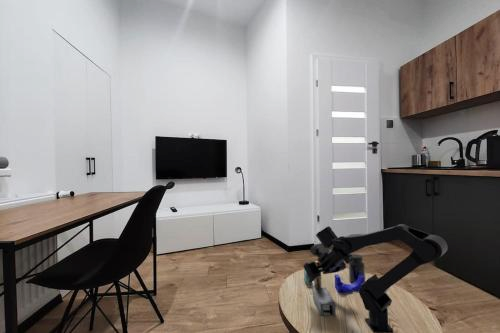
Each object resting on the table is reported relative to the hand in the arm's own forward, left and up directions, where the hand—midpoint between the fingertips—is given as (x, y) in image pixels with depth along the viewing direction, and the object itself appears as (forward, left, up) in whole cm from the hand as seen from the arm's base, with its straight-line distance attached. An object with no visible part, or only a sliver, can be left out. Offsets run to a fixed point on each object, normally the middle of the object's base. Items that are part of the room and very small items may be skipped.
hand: (315, 275), depth 104 cm
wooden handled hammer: (-5, -1, -7) cm, 8 cm away
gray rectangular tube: (-10, -1, -8) cm, 12 cm away
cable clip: (+3, -16, -8) cm, 18 cm away
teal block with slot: (+11, -1, -8) cm, 13 cm away
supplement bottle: (+10, -22, -8) cm, 25 cm away
